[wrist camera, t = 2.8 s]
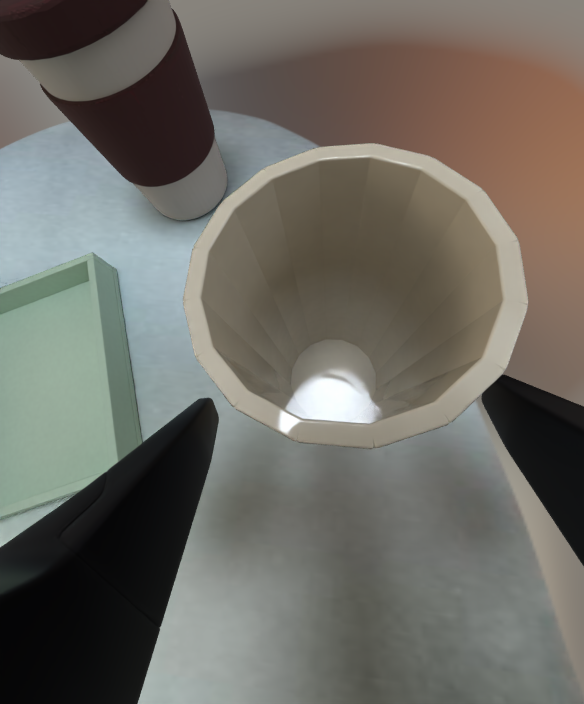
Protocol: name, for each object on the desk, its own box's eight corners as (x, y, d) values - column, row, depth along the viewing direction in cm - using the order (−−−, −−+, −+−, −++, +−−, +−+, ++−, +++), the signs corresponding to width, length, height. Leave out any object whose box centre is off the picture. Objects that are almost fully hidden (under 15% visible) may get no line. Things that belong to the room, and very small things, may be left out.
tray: (146, 469, 19) (119, 476, 16) (-45, 535, 19) (-98, 551, 17) (116, 269, 24) (92, 251, 21) (-36, 327, 24) (-76, 316, 22)
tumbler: (395, 410, 18) (612, 370, 4) (304, 441, 18) (226, 498, 4) (358, 324, 19) (425, 103, 6) (276, 354, 20) (160, 206, 6)
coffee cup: (220, 132, 26) (88, -220, 12) (260, 203, 23) (149, -149, 9) (130, 178, 26) (-110, -116, 12) (159, 254, 23) (-112, -14, 9)
